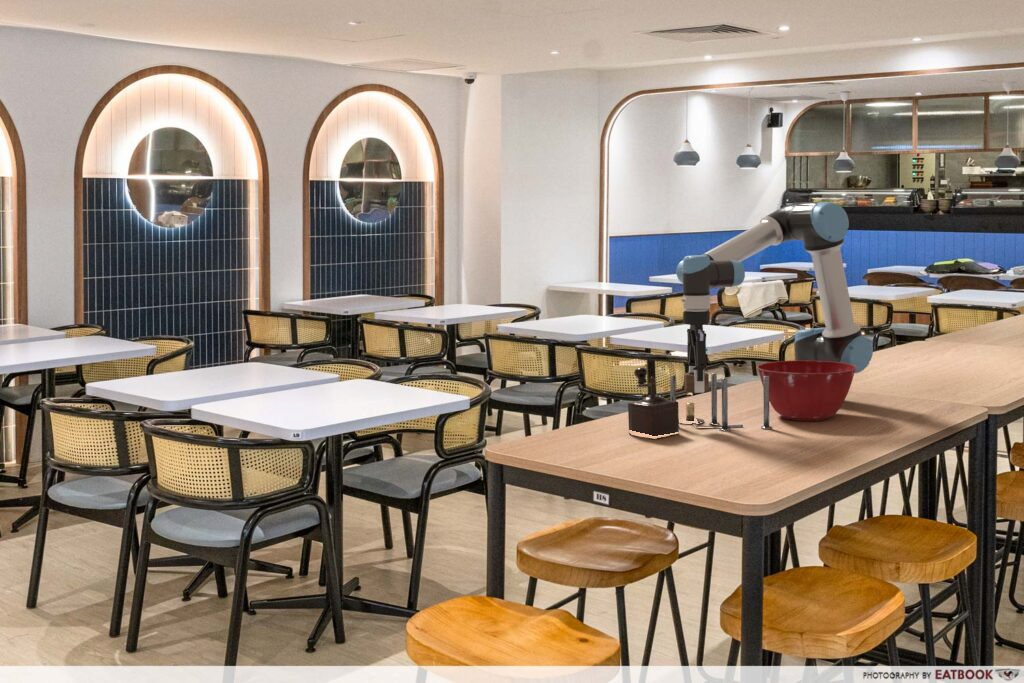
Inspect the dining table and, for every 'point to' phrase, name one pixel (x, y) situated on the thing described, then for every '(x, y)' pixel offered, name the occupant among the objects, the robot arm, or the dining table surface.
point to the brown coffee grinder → (652, 411)
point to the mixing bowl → (807, 387)
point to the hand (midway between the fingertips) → (696, 390)
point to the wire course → (725, 401)
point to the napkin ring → (690, 382)
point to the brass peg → (691, 412)
